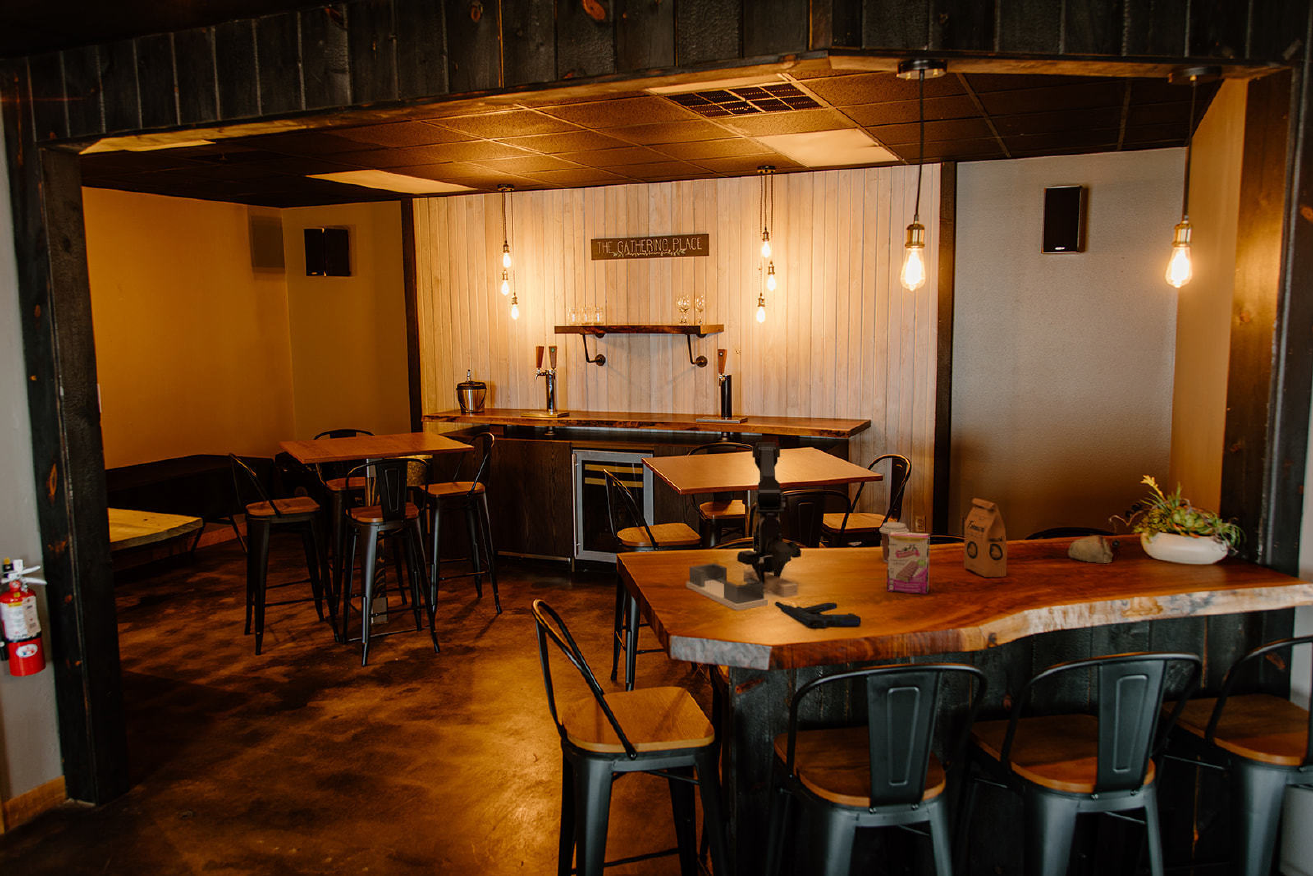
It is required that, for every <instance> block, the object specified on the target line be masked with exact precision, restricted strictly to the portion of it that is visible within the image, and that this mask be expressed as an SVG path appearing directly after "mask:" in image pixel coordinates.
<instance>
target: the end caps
mask: <svg viewBox="0 0 1313 876" xmlns="http://www.w3.org/2000/svg"><path fill="white" fill-rule="evenodd" d="M727 571H728V569H727V567H726V566H723V565H720V564H718V563H716V562H713V563H705V564H701V565H694V566H689V581H690V583H693V584H695V585H697V586H699V587H705V581H710V580H716V581H718V582H721V583H723V584H724V598H725V599H727V600H729V601H731V602H734V603H736V604H741V603H746V602H751V601H757V600H762V599H764V598H765V590H764V583H763V582H760V581H758V580H755V579H753V578H751V577H750V578H747V582H746V583H744V584H739V585H738V584H735V583H733V582H730V581H728V577H727V576H728V575H727V574H728V572H727Z"/></svg>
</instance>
